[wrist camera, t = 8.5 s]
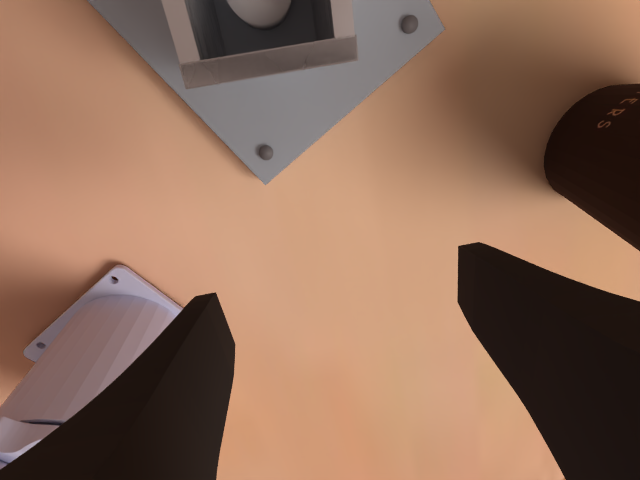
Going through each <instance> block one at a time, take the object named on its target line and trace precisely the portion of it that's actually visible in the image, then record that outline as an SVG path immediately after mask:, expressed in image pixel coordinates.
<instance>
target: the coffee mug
mask: <svg viewBox="0 0 640 480" xmlns="http://www.w3.org/2000/svg"><path fill="white" fill-rule="evenodd" d="M544 168H545V174H546V177H547V179H548V181H549V184H550V185H551V186H552V187H553V188H554V190H555V191H557V192H558V193H560V194H561V195H562V196H564V197H565V198H567V199H568V200H569V201H571V202H572V203H573V204H575V205H576V206H578V207H579V208H580V209H582V210H583V211H585V212H586V213H587V214H589V215H590V216H592V217H593V218H594V219H596V220H597V221H599V222H600V223H601V224H603V225H604V226H606V227H607V228H608V229H610V230H611V231H613V232H614V233H615V234H617V235H618V236H619V237H621V238H622V239H624V240H625V241H626V242H628V243H629V244H631V245H632V246H633V247H635V248H636V249H638V250H639V251H640V84H628V85H614V86H608V87H605V88H602V89H599V90H597V91H595V92H592V93H590V94H588V95H587V96H585V97H584V98H582V99H581V100H580V101H578V102H577V103H576V104H575V105H573V106H572V107H571V108H570V109H569V110H568V111H567V112H566V113H565V115H564V116H563V117H562V118H561V120H560V121H559V122H558V124H557V125H556V127H555V129H554V130H553V132H552V134H551V136H550V139H549V141H548V144H547V147H546V152H545V156H544Z"/></svg>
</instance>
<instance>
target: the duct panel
mask: <svg viewBox="0 0 640 480" xmlns="http://www.w3.org/2000/svg"><path fill="white" fill-rule="evenodd" d="M87 1H88V2H89V3H90V4H91V5H92V6H93V7H94V8H95V9H96V10H97V11H98V12H99V13H100V14H101V15H102V16H103V17H104V18H105V20H106V21H107V22H108V23H109V24H110V25H111V26H112V27H113V28H114V29H115V30H116V31H117V32H118V33H119V34H120V35H121V36H122V37H123V38H124V39H125V40H126V41H127V42H128V43H129V44H130V45H131V46H132V47H133V49H134V50H135V51H136V52H137V53H138V54H139V55H140V56H141V57H142V58H143V59H144V60H145V61H146V62H147V63H148V64H149V65H150V66H151V67H152V68H153V69H154V70H155V71H156V72H157V73H158V74H159V75H160V76H161V78H162V79H163V80H164V81H165V82H166V83H167V84H168V85H169V86H170V87H171V88H172V89H173V90H174V91H175V92H176V93H177V94H178V95H179V96H180V97H181V98H182V99H183V100H184V101H185V102H186V103H187V104H188V105H189V107H190V108H191V109H192V110H193V111H194V112H195V113H196V114H197V115H198V116H199V117H200V118H201V119H202V120H203V121H204V122H205V123H206V124H207V125H208V126H209V127H210V128H211V129H212V130H213V131H214V132H215V133H216V134H217V136H218V137H219V138H220V139H221V140H222V141H223V142H224V143H225V144H226V145H227V146H228V147H229V148H230V149H231V150H232V151H233V152H234V153H235V154H236V155H237V156H238V157H239V158H240V159H241V160H242V161H243V162H244V164H245V165H246V166H247V167H248V168H249V169H250V170H251V171H252V172H253V173H254V174H255V175H256V176H257V177H258V178H259V179H260V180H261V181H262V182H263V183H264V184H265V185H266V184H267V183H268V182H270V181H271V180H272V179H273V178H274V177H275V176H276V175H278V174H279V173H280V172H281V171H282V170H283V169H285V168H286V167H287V166H288V165H289V164H290V163H291V162H293V161H294V160H295V159H296V158H297V157H298V156H300V155H301V154H302V153H303V152H304V151H305V150H306V149H308V148H309V147H310V146H311V145H312V144H313V143H315V142H316V141H317V140H318V139H319V138H320V137H321V136H323V135H324V134H325V133H326V132H327V131H328V130H330V129H331V128H332V127H333V126H334V125H335V124H336V123H338V122H339V121H340V120H341V119H342V118H343V117H345V116H346V115H347V114H348V113H349V112H350V111H351V110H353V109H354V108H355V107H356V106H357V105H358V104H360V103H361V102H362V101H363V100H364V99H365V98H366V97H368V96H369V95H370V94H371V93H372V92H373V91H375V90H376V89H377V88H378V87H379V86H380V85H381V84H383V83H384V82H385V81H386V80H387V79H388V78H390V77H391V76H392V75H393V74H394V73H395V72H396V71H398V70H399V69H400V68H401V67H402V66H403V65H405V64H406V63H407V62H408V61H409V60H410V59H411V58H413V57H414V56H415V55H416V54H417V53H418V52H420V51H421V50H422V49H423V48H424V47H425V46H426V45H428V44H429V43H430V42H431V41H432V40H433V39H435V38H436V37H437V36H438V35H439V34H440V33H441V32H443V31H444V30H445V28H444V26H443V24H442V22H441V20H440V19H439V17H438V15H437V13H436V11H435V10H434V8H433V6H432V4H431V2H430V1H429V0H352V9H353V20H354V31H355V35H357V46H358V58H359V61H354V62H348V63H342V64H336V65H330V66H324V67H318V68H312V69H306V70H300V71H294V72H288V73H282V74H276V75H270V76H264V77H258V78H252V79H246V80H240V81H234V82H228V83H222V84H216V85H210V86H204V87H198V88H192V89H186V88H185V85H184V81H183V78H182V75H181V71H180V68H179V65H178V64H180V62H179V58H178V55H177V52H176V48H175V45H174V42H173V38H172V35H171V31H170V28H169V25H168V21H167V18H166V14H165V11H164V8H163V4H162V1H161V0H87ZM214 5H215V9H216V13H217V17H218V21H219V26H220V30H221V34H222V38H223V42H224V47H225V51H226V55H227V56H229V55H235V54H241V53H247V52H253V51H259V50H265V49H271V48H278V47H284V46H290V45H296V44H302V43H308V42H314V41H316V33H315V26H314V18H313V11H312V3H311V0H214Z"/></svg>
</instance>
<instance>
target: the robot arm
mask: <svg viewBox="0 0 640 480" xmlns="http://www.w3.org/2000/svg"><path fill="white" fill-rule="evenodd" d="M112 276H114V277H116V278H117V279H118V280H114V279H113V278H112ZM458 304H459V306H460V308H461V310H462V312H463V314H464V316H465V318H466V320H467V321H468V323H469V325H470V327H471V329H472V331H473V332H474V334H475V335H476V337H477V338H478V340H479V341H480V342H481V344H482V345H483V347H484V348H485V350H486V351H487V353H488V354H489V355H490V357H491V358H492V360H493V361H494V362H495V364H496V365H497V367H498V368H499V369H500V371H501V372H502V374H503V375H504V377H505V378H506V379H507V381H508V382H509V384H510V385H511V386H512V388H513V389H514V391H515V392H516V394H517V395H518V396H519V398H520V400H521V401H522V403H523V404H524V406H525V407H526V409H527V410H528V412H529V414H530V415H531V417H532V419H533V421H534V423H535V424H536V426H537V428H538V430H539V431H540V433H541V435H542V437H543V438H544V440H545V442H546V444H547V445H548V447H549V449H550V451H551V453H552V455H553V456H554V458H555V460H556V462H557V464H558V466H559V468H560V469H561V471H562V473H563V475H564V477H565V479H566V480H640V302H639V301H636V300H633V299H629V298H626V297H623V296H619V295H616V294H612V293H609V292H606V291H603V290H600V289H597V288H594V287H591V286H589V285H586V284H583V283H580V282H577V281H575V280H572V279H569V278H566V277H564V276H561V275H559V274H556V273H554V272H551V271H549V270H546V269H544V268H541V267H539V266H536V265H534V264H532V263H529V262H527V261H525V260H522V259H520V258H518V257H515V256H513V255H511V254H508V253H506V252H503V251H501V250H499V249H496V248H494V247H491V246H489V245H486V244H483V243H480V242H477V243H472V244H467V245H461V246H458ZM41 342H42V343H41ZM43 343H44V344H43ZM23 354H24V356H25V357H27V358H28V359H30V360H32V361H34V362H35V364H34V365H33V367H32V368H31V369H30V370H29V371H28V373H27V374H26V375H25V376H24V378H23V379H22V380H21V381H20V383H19V384H18V385H17V386H16V388H15V389H14V390H13V391H12V393H11V394H10V395H9V396H8V398H7V399H6V400H5V401H4V403H3V404H2V405H1V406H0V480H216V475H217V467H218V460H219V453H220V447H221V442H222V437H223V432H224V426H225V421H226V416H227V410H228V405H229V400H230V394H231V389H232V383H233V377H234V363H235V342H234V340H233V337H232V334H231V332H230V329H229V326H228V324H227V321H226V318H225V315H224V313H223V310H222V307H221V305H220V302H219V299H218V297H217V294H216V292H215V293H210V294H205V295H200V296H195V297H194V298H193V299H192V300H191V301H190V302H189V303H188V304H187V305H186V306H185V307H184V308H182V307H180V306H179V305H178V304H176V303H175V302H174V301H172V300H171V299H170V298H168V297H167V296H166V295H164V294H163V293H162V292H160V291H159V290H158V289H156V288H155V287H153V286H152V285H151V284H149V283H148V282H147V281H145V280H144V279H143V278H141V277H140V276H139V275H137V274H136V273H135V272H133V271H132V270H131V269H129V268H128V267H126V266H124V265H116V266H114V267H113V268H112V269H111V270H110V271H109V272H108V273H106V274H105V275H104V276H103V277H102V278H101V279H100V280H99V281H98V282H97V283H96V284H94V285H93V286H92V287H91V288H90V289H89V290H88V291H87V292H86V293H85V294H83V295H82V296H81V297H80V298H79V299H78V300H77V301H76V302H75V303H74V304H73V305H71V306H70V307H69V308H68V309H67V310H66V311H65V312H64V313H63V314H62V315H61V316H59V317H58V318H57V319H56V320H55V321H54V322H53V323H52V324H51V325H50V326H49V327H47V328H46V329H45V330H44V331H43V332H42V333H41V334H40V335H39V336H38V337H37V338H35V339H34V340H33V341H32V342H31V343H30V344H29V345H28V346H27V347H26V348H25V349H24V351H23Z"/></svg>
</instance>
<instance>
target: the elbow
mask: <svg viewBox="0 0 640 480" xmlns="http://www.w3.org/2000/svg"><path fill="white" fill-rule="evenodd" d="M161 1H162V4H163V8H164V11H165V14H166V18H167V21H168V25H169V28H170V31H171V35H172V38H173V42H174V45H175V48H176V52H177V55H178V58H179V62H180V64H178V65H179V68H180V71H181V75H182V78H183V81H184V85H185V88H186V89H192V88H198V87H204V86H210V85H216V84H222V83H228V82H234V81H240V80H246V79H252V78H258V77H264V76H270V75H276V74H282V73H288V72H294V71H300V70H306V69H312V68H318V67H324V66H330V65H336V64H342V63H348V62H354V61H359V58H358V46H357V35H355V31H354V20H353V9H352V0H311V3H312V11H313V18H314V26H315V33H316V41H314V42H308V43H302V44H296V45H290V46H284V47H278V48H271V49H265V50H259V51H253V52H247V53H241V54H235V55H229V56H227V55H226V51H225V47H224V42H223V38H222V34H221V30H220V26H219V21H218V17H217V13H216V9H215V5H214V0H161Z"/></svg>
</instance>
